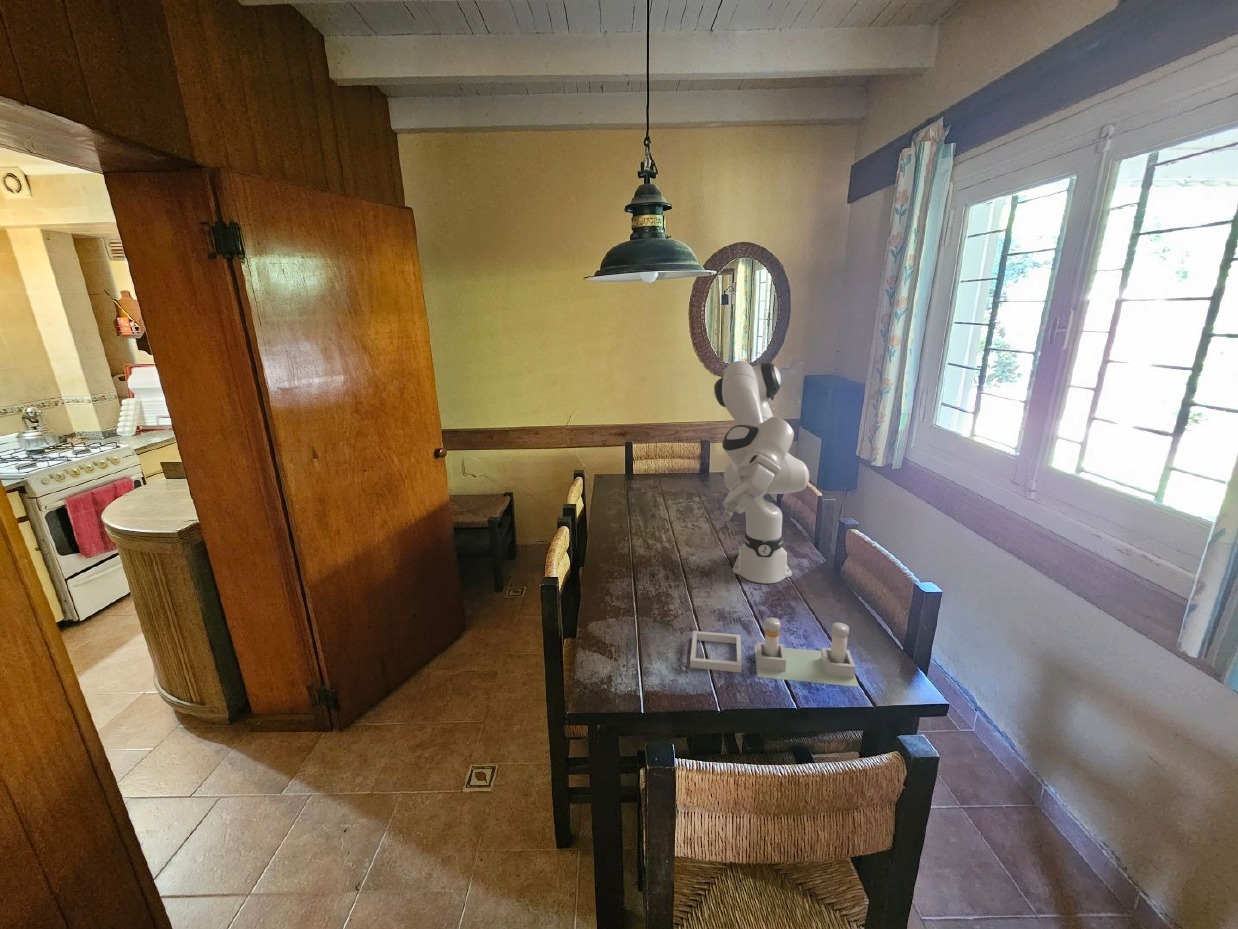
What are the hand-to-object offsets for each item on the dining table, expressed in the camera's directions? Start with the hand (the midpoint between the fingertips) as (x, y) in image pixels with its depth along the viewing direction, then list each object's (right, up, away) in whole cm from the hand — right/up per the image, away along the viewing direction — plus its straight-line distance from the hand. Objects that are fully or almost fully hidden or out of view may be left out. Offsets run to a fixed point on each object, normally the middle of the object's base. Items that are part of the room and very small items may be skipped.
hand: (731, 516), depth 123 cm
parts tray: (-3, -35, +2) cm, 36 cm away
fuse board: (+17, -36, -3) cm, 40 cm away
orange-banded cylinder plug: (+9, -35, -1) cm, 36 cm away
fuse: (+24, -35, -4) cm, 43 cm away
